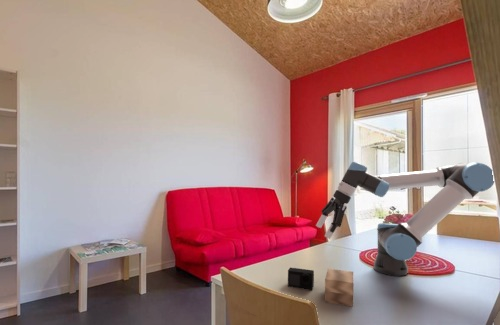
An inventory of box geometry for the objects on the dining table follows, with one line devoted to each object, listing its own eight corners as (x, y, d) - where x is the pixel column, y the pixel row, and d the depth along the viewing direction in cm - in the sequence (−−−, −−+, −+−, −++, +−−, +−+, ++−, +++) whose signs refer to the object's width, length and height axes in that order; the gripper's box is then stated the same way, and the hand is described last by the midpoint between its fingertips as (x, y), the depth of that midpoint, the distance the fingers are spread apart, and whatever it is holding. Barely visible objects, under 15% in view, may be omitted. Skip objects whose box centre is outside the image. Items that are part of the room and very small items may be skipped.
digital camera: (286, 287, 120) (286, 271, 121) (289, 283, 125) (289, 267, 126) (311, 291, 117) (311, 274, 117) (313, 286, 122) (313, 270, 122)
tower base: (353, 294, 115) (353, 283, 116) (353, 307, 104) (353, 295, 104) (327, 290, 119) (327, 279, 119) (324, 303, 108) (324, 291, 108)
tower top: (353, 282, 116) (353, 271, 116) (353, 295, 104) (353, 282, 104) (327, 279, 119) (327, 268, 119) (325, 291, 108) (325, 279, 108)
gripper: (328, 184, 147) (308, 219, 148) (347, 196, 122) (324, 238, 124) (341, 190, 147) (321, 226, 149) (362, 203, 123) (338, 246, 125)
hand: (322, 232), depth 137 cm, fingers open, 13 cm apart
